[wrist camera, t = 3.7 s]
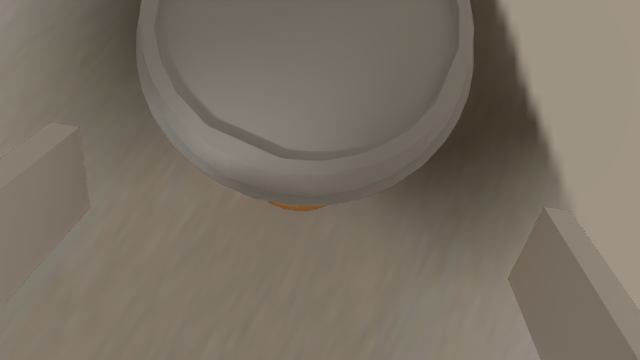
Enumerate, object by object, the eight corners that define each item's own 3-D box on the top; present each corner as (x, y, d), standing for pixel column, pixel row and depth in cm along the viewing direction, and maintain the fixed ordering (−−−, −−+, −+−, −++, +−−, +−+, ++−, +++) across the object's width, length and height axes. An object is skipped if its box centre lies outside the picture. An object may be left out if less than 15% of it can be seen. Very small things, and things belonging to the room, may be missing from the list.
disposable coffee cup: (394, 72, 25) (487, -122, 13) (391, 250, 22) (498, 210, 11) (217, 57, 24) (148, -155, 13) (195, 237, 22) (87, 181, 10)
